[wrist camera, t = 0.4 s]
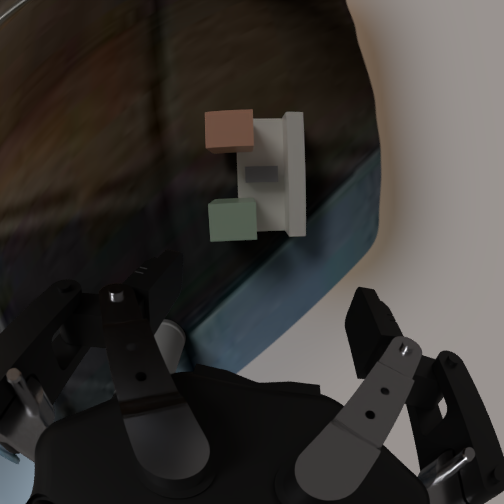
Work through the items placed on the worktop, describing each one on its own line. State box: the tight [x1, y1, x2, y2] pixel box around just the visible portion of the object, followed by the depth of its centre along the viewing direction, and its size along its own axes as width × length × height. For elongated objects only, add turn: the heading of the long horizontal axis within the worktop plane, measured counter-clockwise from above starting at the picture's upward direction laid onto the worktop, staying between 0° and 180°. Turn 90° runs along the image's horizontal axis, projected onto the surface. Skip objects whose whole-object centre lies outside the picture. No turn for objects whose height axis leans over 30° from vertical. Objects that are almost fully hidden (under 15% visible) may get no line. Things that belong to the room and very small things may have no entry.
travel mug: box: [112, 319, 186, 399], centre depth 34 cm, size 6×7×20 cm
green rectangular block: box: [208, 198, 257, 241], centre depth 33 cm, size 4×5×7 cm
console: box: [237, 112, 306, 237], centre depth 34 cm, size 15×8×6 cm, turn 2°
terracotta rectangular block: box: [205, 110, 254, 154], centre depth 30 cm, size 4×5×7 cm
